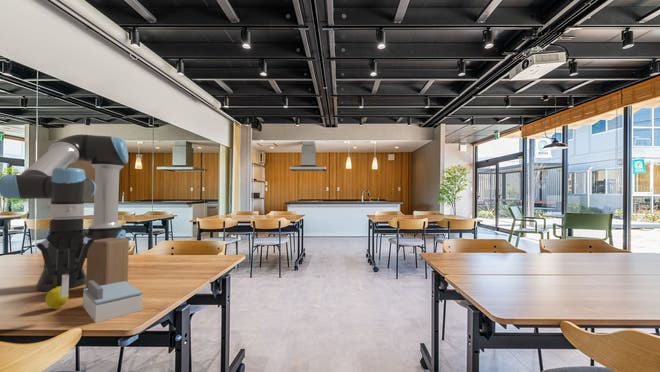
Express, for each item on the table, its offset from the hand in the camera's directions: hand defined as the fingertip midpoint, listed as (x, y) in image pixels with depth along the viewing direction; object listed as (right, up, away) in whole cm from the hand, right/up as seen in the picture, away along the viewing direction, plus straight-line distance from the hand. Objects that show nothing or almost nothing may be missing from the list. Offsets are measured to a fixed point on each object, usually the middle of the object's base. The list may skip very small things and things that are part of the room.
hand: (64, 296), depth 85 cm
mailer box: (+8, -8, +9) cm, 14 cm away
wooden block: (-10, -9, +29) cm, 31 cm away
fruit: (-10, -8, +8) cm, 15 cm away
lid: (+8, -2, +9) cm, 12 cm away
